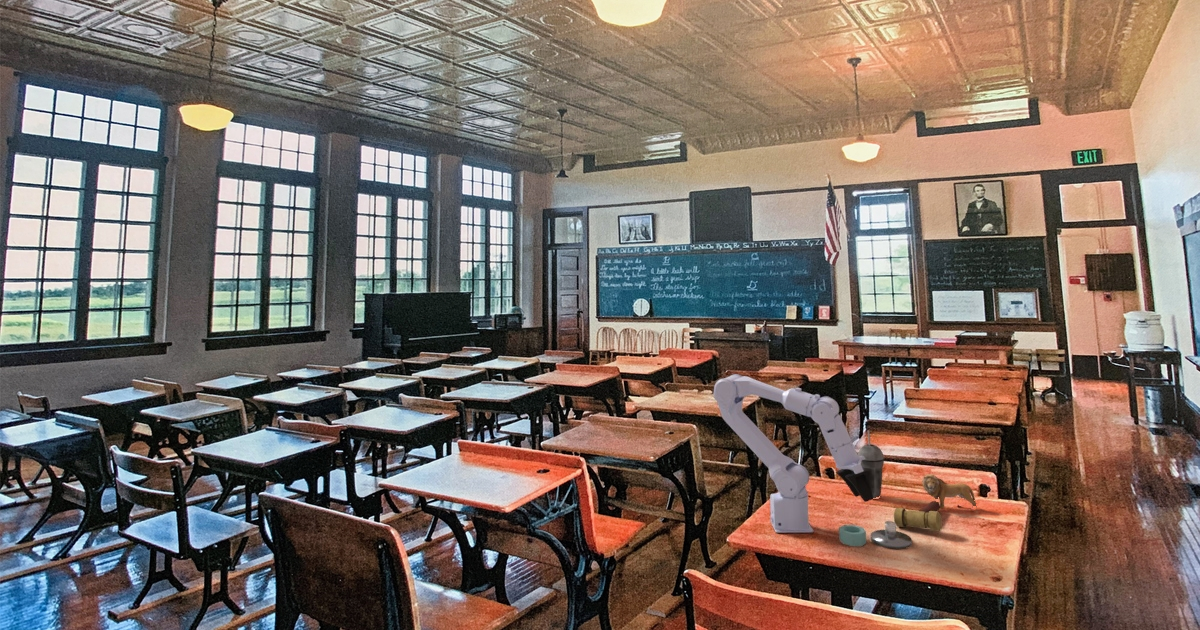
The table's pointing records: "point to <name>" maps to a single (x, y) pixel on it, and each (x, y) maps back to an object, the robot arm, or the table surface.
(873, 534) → the grey peg stand
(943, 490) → the lion figurine
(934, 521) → the gavel
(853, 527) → the ring
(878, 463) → the beverage cup
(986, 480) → the table surface
